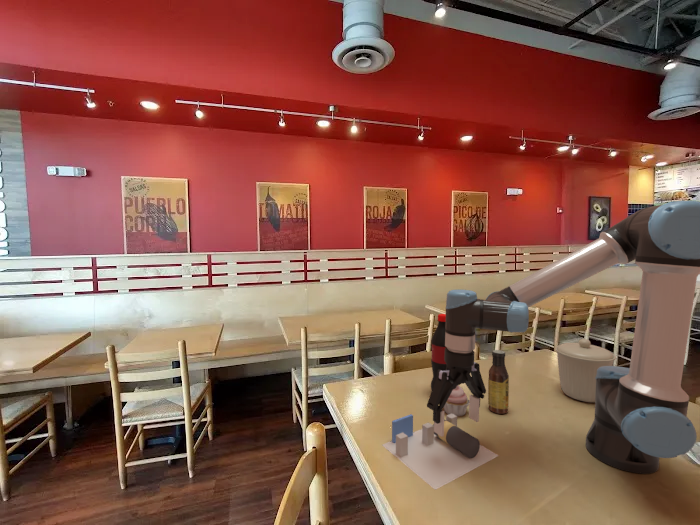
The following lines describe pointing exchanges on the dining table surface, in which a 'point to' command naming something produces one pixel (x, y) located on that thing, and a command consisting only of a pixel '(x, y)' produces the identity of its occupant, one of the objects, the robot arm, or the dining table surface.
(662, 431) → the robot arm
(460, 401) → the cupcake
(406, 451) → the white base plate
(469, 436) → the banded cylinder post
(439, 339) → the cola bottle
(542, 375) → the dining table surface
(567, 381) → the canister
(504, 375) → the sauce bottle
